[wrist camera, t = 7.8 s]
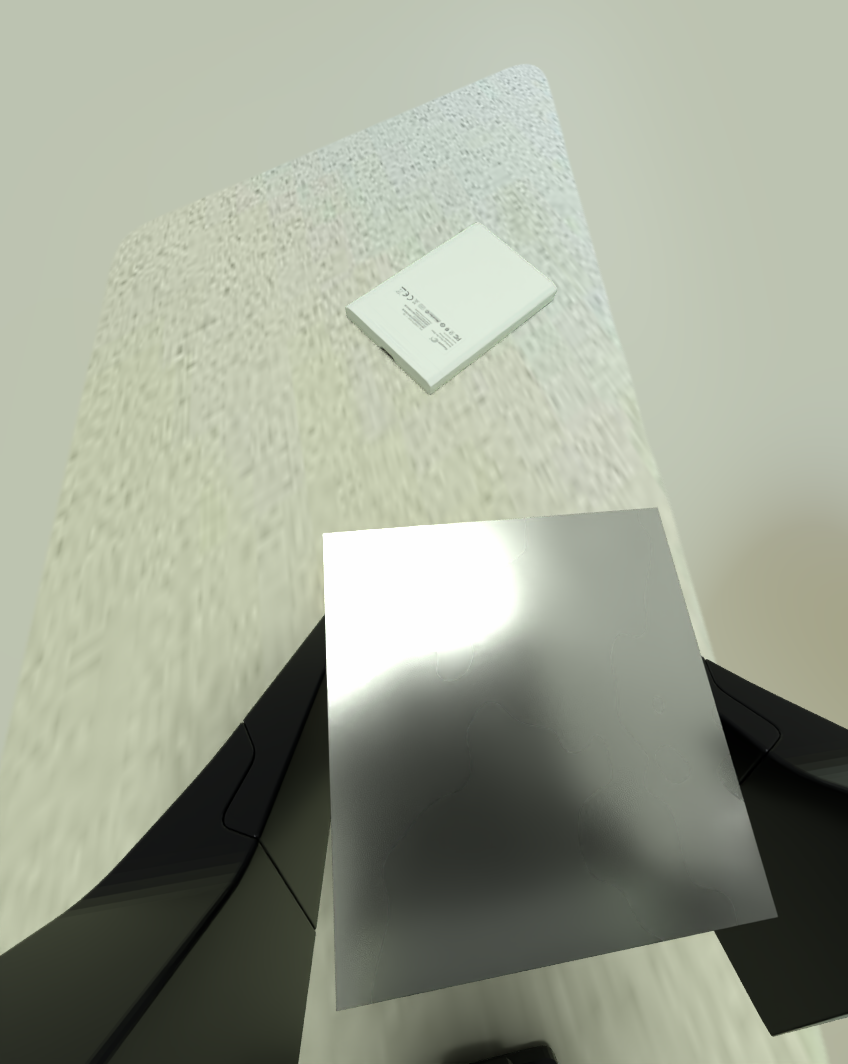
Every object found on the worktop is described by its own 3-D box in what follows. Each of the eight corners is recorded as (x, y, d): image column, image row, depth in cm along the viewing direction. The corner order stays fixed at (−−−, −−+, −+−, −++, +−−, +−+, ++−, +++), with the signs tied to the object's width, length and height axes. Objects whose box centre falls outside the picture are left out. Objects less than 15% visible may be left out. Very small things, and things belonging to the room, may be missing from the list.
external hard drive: (549, 307, 25) (429, 401, 22) (471, 242, 27) (347, 323, 24) (559, 286, 24) (431, 384, 21) (476, 218, 25) (343, 301, 22)
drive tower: (486, 694, 16) (777, 916, 4) (384, 708, 16) (335, 1012, 3) (472, 591, 18) (656, 505, 5) (377, 600, 17) (322, 532, 5)
